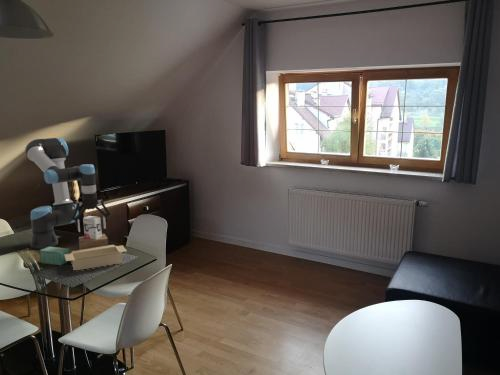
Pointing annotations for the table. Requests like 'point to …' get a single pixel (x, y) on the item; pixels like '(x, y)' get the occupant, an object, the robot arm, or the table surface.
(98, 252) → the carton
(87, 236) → the ink box
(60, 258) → the box
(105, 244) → the stand
